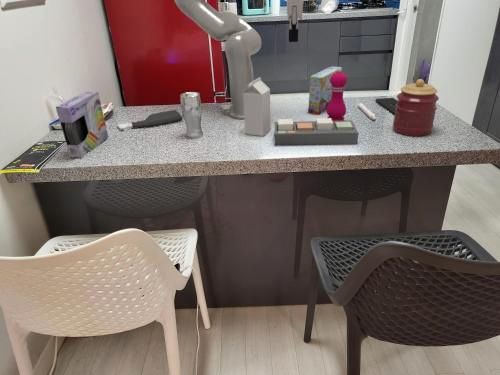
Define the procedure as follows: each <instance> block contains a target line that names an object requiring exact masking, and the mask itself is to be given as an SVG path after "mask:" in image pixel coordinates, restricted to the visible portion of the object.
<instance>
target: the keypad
mask: <svg viewBox="0 0 500 375" xmlns="http://www.w3.org/2000/svg"><path fill="white" fill-rule="evenodd" d="M332 122H333V130H316V120H315V121H311V120H310V121H307V120H306V121H293V131H278V121H276V122H275V121H274V127H273V128H274V130H273V131H274V135H273V137H274V146H276V147H281V146H282V147H285V146H287V147H288V146H330V145H331V146H332V145H334V146H337V145H339V146H340V145H358V142H359V141H358V140H359V131H358V129H357V127H356V125H355V123H354V122H353V120H350V119H349V120H344V121H332ZM335 122H351V124H352V126H353V129H350V130H336V128H335ZM297 123H312V126H313V130H302V131H297Z"/></svg>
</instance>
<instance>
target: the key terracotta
mask: <svg viewBox="0 0 500 375" xmlns="http://www.w3.org/2000/svg"><path fill="white" fill-rule="evenodd" d="M302 130H313V126H312V123H297V131H302Z"/></svg>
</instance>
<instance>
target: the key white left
mask: <svg viewBox="0 0 500 375" xmlns="http://www.w3.org/2000/svg"><path fill="white" fill-rule="evenodd" d="M277 122H278V131H293V122H294V118H284V119H283V118H280V119H279V118H277Z"/></svg>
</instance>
